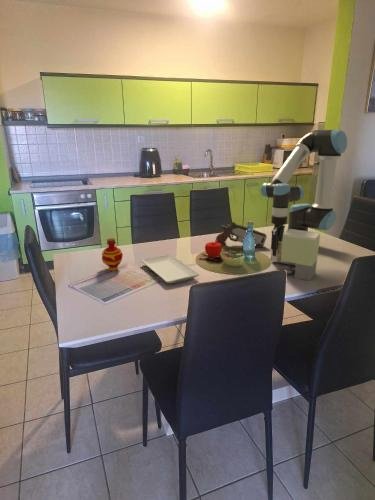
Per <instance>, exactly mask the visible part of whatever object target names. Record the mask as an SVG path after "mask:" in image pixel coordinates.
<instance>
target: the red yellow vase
mask: <svg viewBox="0 0 375 500" xmlns="http://www.w3.org/2000/svg"><path fill="white" fill-rule="evenodd" d="M116 243H117V242H116V238H113V237H111V238H107V239H106V244H107V245H108V246H107V247H106V248H104V249H103V250H102V252H101V261H102V263H103V264H105V265H106V266H107V267H108V268H107V270H109V271H112V272H113V271H114V272H115V271H117V270H119V265H120V263H121V262H122V260H123V257H124V254H123V252H122V249H121V248H119V247H117V246H116Z"/></svg>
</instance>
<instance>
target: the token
mask: <svg viewBox="0 0 375 500" xmlns="http://www.w3.org/2000/svg"><path fill="white" fill-rule="evenodd" d="M284 270H286V271H287V275H286V276H295V267H294V266H284V267H283V271H284Z"/></svg>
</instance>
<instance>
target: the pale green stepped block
mask: <svg viewBox="0 0 375 500" xmlns="http://www.w3.org/2000/svg"><path fill="white" fill-rule="evenodd" d="M320 238H321V232H317V231H316V232H315V231H310V230H308V231H302V230H295V229H289V230H287V229H286V231H284V233H283V239H282V252H281V261H285V262H291V263H296V265H295V267H294V268H295V275H293V276H294V277H293V278H294V279H299V280H304V281H310V282H311V280H313V279H312V278H313V277H315V274H316V270H317V264H318V263H317V262H318V256H319V255H318V254H319V247H320Z"/></svg>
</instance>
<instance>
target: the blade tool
mask: <svg viewBox="0 0 375 500" xmlns="http://www.w3.org/2000/svg"><path fill="white" fill-rule="evenodd" d="M281 252H282V241H279V242H278V257H277V262H276V263H282V264H287V265H292V266H296V263H291V262H285V261H281ZM271 260H272V250H271V252H270V261H271Z"/></svg>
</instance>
